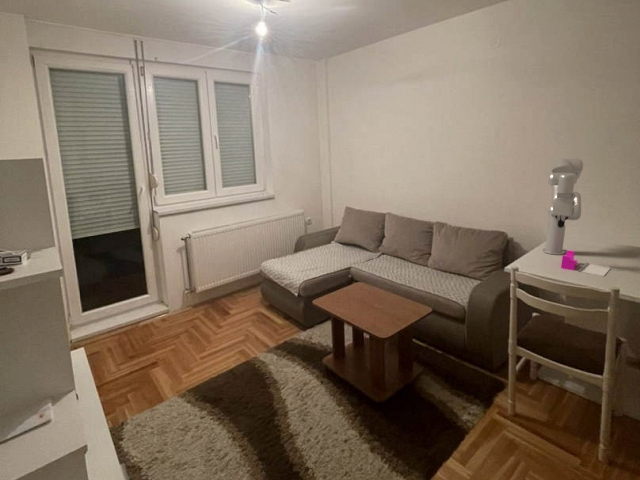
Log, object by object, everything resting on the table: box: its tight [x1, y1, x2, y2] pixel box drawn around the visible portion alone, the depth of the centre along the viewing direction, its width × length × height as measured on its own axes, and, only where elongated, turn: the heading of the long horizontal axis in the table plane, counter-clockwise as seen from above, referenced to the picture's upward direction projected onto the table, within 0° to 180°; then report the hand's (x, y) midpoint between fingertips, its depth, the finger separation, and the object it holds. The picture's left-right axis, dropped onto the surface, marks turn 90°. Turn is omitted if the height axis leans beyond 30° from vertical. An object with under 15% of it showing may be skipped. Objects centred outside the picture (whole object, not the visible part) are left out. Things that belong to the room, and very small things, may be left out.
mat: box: [578, 262, 612, 277], centre depth 211 cm, size 18×12×1 cm, turn 133°
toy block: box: [560, 249, 578, 271], centre depth 219 cm, size 15×6×8 cm, turn 139°
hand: (560, 227), depth 220 cm, fingers closed
